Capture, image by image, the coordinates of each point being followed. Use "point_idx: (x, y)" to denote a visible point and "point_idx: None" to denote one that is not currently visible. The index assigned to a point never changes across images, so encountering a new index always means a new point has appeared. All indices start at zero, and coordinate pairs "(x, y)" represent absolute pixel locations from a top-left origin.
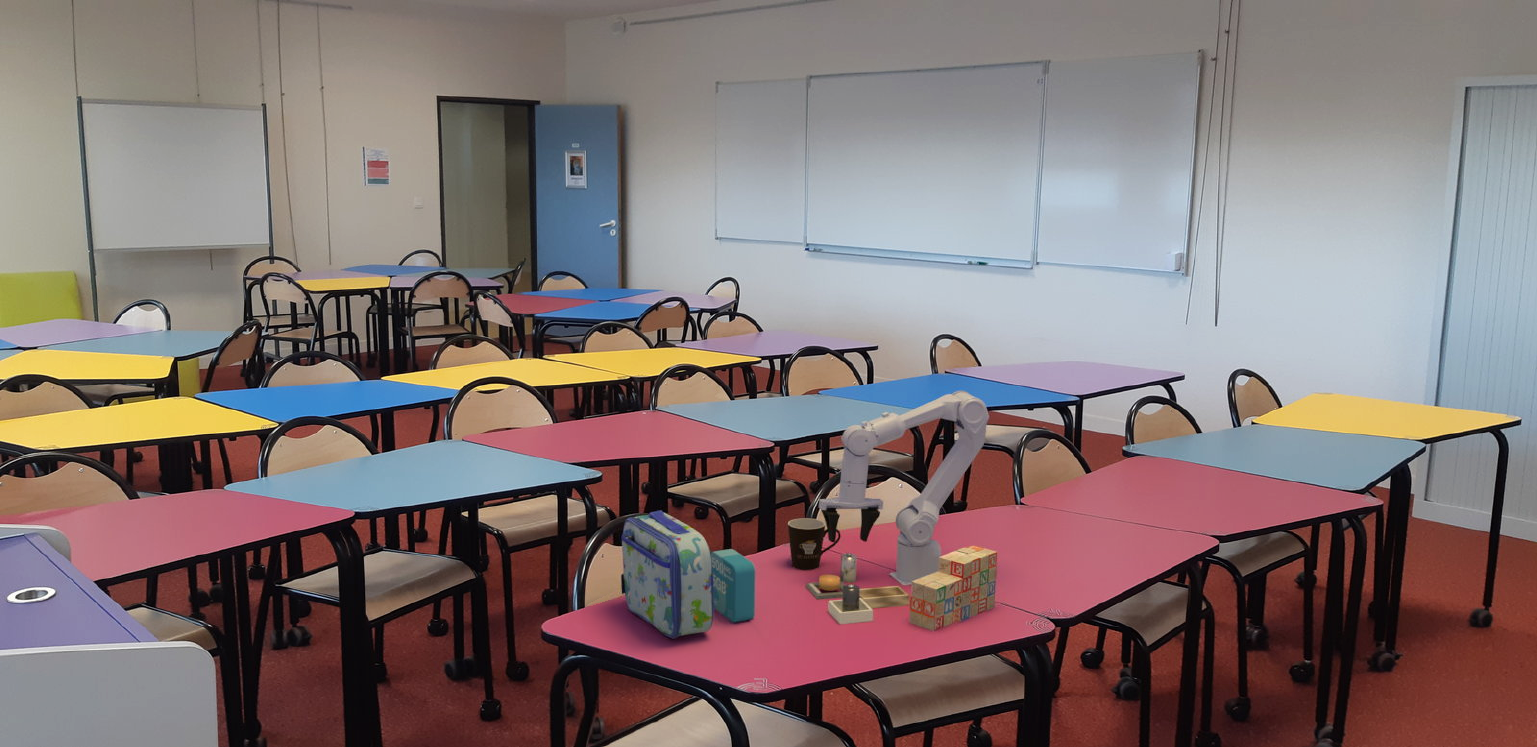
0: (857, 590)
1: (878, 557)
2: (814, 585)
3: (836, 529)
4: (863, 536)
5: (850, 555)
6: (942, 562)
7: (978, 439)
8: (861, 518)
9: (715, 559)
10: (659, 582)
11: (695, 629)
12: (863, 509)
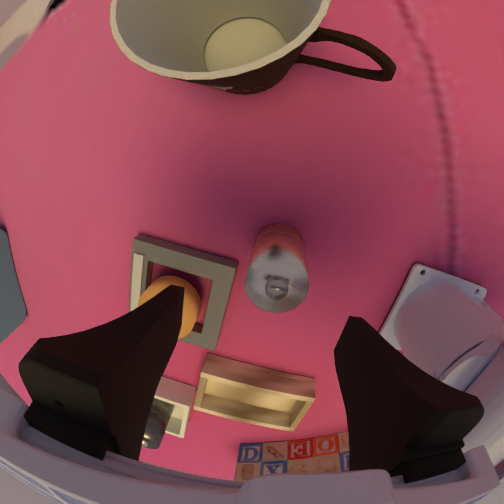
0: (151, 447)
1: (481, 127)
2: (149, 259)
3: (382, 61)
4: (342, 356)
5: (275, 298)
6: None
7: None
8: (395, 376)
9: None
10: None
11: None
12: (411, 439)
